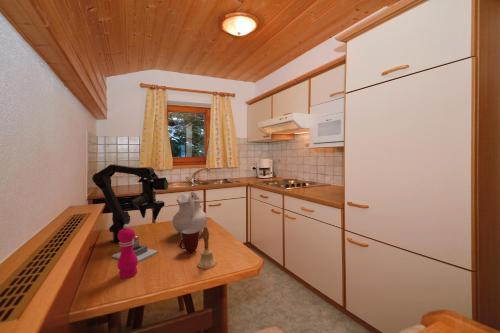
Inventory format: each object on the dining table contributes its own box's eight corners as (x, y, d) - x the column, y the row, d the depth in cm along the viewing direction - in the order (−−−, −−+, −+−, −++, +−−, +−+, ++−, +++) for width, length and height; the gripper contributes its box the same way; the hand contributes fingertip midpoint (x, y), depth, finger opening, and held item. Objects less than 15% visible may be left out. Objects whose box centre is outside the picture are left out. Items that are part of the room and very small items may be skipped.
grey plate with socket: (112, 257, 109) (112, 249, 109) (135, 247, 119) (135, 240, 119) (135, 264, 102) (135, 256, 101) (158, 253, 112) (157, 246, 112)
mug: (188, 258, 106) (187, 236, 105) (174, 255, 110) (174, 234, 109) (203, 249, 115) (202, 229, 115) (190, 246, 119) (189, 227, 119)
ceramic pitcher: (214, 239, 132) (215, 194, 132) (179, 244, 121) (181, 196, 121) (199, 229, 150) (200, 190, 149) (167, 233, 139) (169, 191, 138)
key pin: (130, 253, 110) (129, 236, 109) (136, 251, 113) (135, 234, 112) (134, 254, 108) (133, 237, 108) (141, 252, 111) (140, 235, 111)
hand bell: (207, 270, 95) (206, 231, 94) (193, 265, 99) (191, 228, 98) (221, 262, 102) (219, 225, 101) (206, 258, 106) (205, 223, 105)
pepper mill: (123, 270, 96) (120, 222, 95) (141, 269, 97) (139, 221, 96) (114, 279, 89) (111, 227, 88) (134, 278, 90) (131, 226, 88)
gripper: (123, 191, 125) (124, 220, 126) (146, 193, 116) (148, 225, 117) (141, 188, 135) (142, 215, 136) (164, 190, 126) (165, 219, 127)
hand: (149, 218), depth 129 cm, fingers open, 9 cm apart
